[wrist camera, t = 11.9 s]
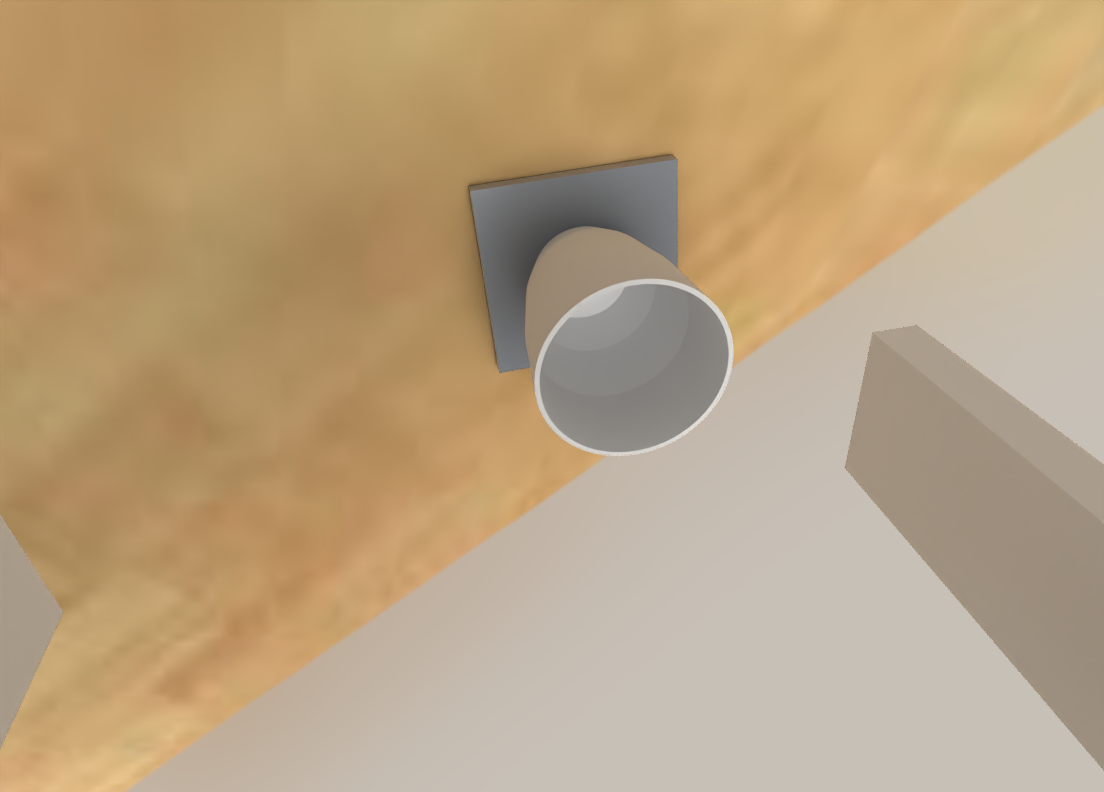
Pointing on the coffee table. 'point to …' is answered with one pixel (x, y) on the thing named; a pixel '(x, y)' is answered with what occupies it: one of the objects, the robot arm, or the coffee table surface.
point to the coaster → (563, 229)
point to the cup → (621, 344)
